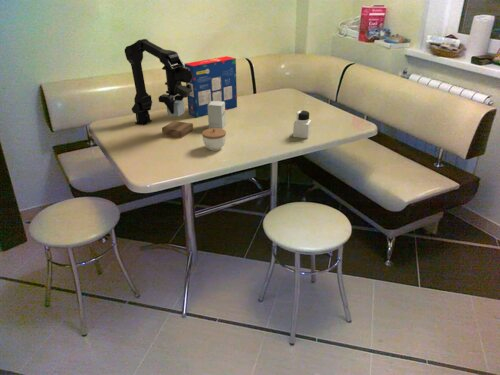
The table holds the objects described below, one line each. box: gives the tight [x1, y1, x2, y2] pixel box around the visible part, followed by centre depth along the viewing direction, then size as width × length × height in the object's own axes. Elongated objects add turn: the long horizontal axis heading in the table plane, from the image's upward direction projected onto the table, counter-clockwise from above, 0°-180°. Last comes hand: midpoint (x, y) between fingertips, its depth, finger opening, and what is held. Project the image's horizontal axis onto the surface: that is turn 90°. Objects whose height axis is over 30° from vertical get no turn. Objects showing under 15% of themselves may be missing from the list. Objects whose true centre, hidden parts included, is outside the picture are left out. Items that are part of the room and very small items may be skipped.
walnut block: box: [161, 120, 194, 139], centre depth 206 cm, size 11×11×4 cm
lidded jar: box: [201, 128, 227, 152], centre depth 187 cm, size 11×11×9 cm
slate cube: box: [166, 99, 185, 117], centre depth 200 cm, size 6×6×6 cm
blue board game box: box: [184, 55, 238, 119], centre depth 229 cm, size 28×8×28 cm, turn 129°
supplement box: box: [207, 101, 226, 130], centre depth 210 cm, size 7×7×13 cm
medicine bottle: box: [292, 110, 312, 139], centre depth 198 cm, size 7×7×12 cm
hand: (175, 111), depth 201 cm, fingers closed on slate cube, 6 cm apart
